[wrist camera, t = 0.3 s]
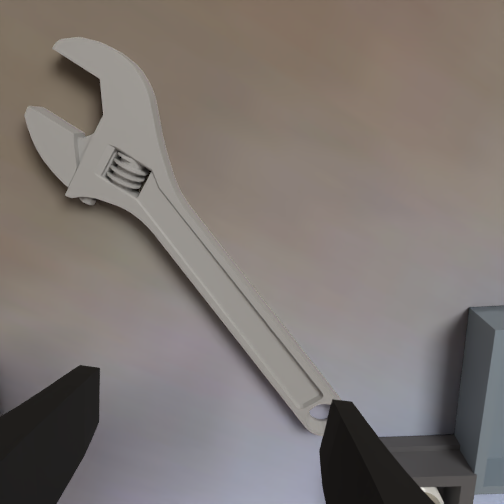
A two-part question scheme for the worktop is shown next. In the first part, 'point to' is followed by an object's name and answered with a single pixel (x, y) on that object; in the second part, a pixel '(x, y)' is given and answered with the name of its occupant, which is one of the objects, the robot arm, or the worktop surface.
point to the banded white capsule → (433, 494)
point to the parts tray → (483, 399)
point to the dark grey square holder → (435, 465)
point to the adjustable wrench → (168, 214)
